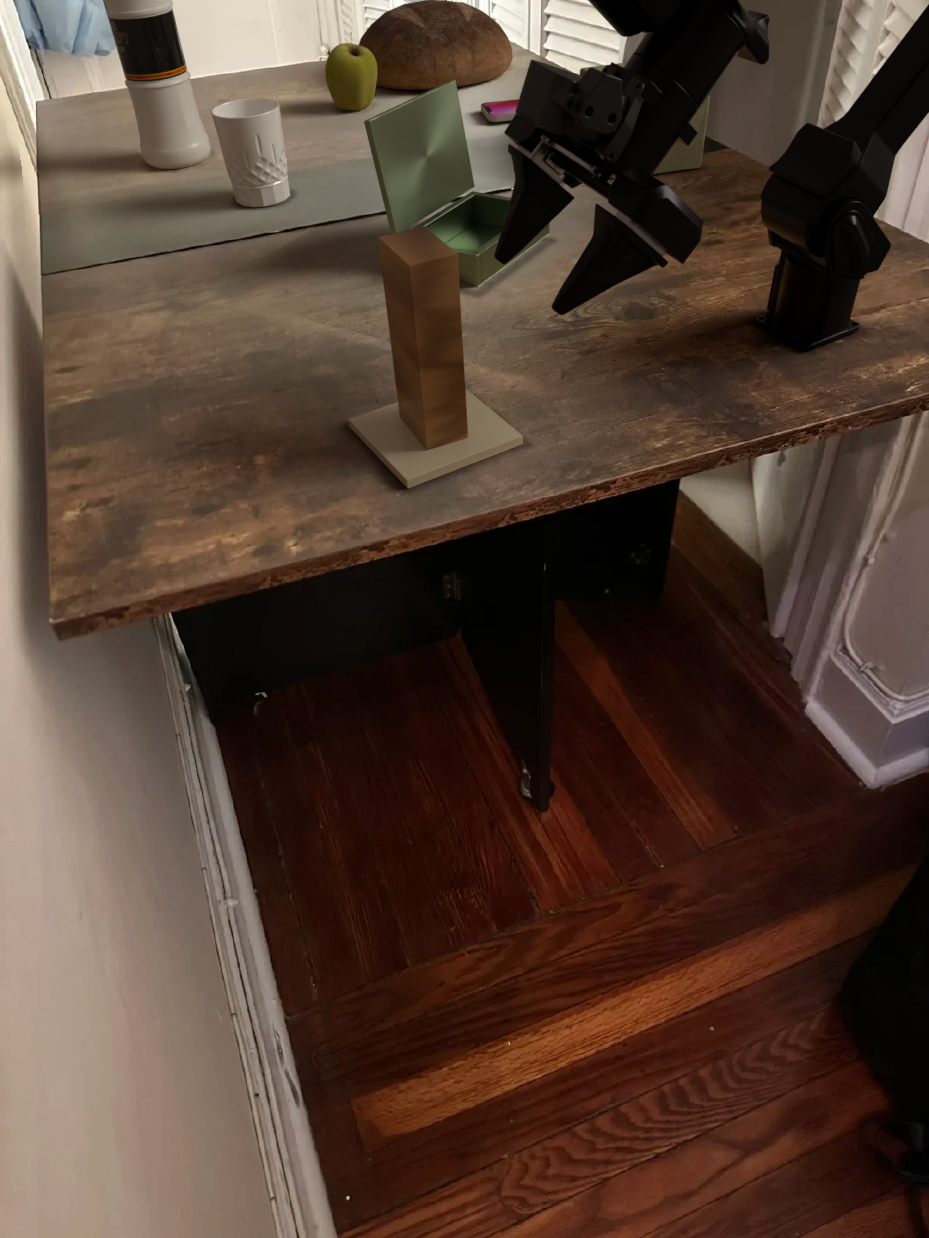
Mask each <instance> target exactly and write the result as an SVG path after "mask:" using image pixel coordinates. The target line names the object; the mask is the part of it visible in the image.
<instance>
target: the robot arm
mask: <svg viewBox="0 0 929 1238" xmlns="http://www.w3.org/2000/svg"><path fill="white" fill-rule="evenodd" d="M587 1H588V2H589V4H591V5H592V7H593V8H594V9H595V10H596V11H597V12H598V13H599V14H600V15H601V16H602V17H603V18H604V19H605V21H606V22H607V23H608V24H609V25H610V26H611V27H612V28H613V30H615V31H616V33H618V35H619V36H621V37H623V38H627V37H631V36H634V35H637V34H639V33H641V32H643V33H646V35H645V36H644V38H643V39H642V41H641V42H640V44H639V45H638V47H637V48H636V50H635V51H634V53H633V55H632V56H631V57H630V59H629V60H628V62H627V63H626V65H625V66H624V68H623V67H621V66H619V65H617V63H615V62H613V61H611V62H610V64H606V65H607V66H605V67H604V68H603V69H602V71H599V70H597V69H595V68H592V67H593V66H590V67H591V68H589V69H588V70H587V71H586V73H585V74H584V75H583V76H581V75H580V74H578V73H575V72H572V71H569V70H566V69H563V68H560V67H558V66H555V65H551V64H548V63H545V62H541V61H538V60H535V59H530V62H529V65H528V68H527V71H526V74H525V78H524V81H523V85H522V88H521V91H520V95H519V97H518V99H519V101H518V104H517V107H516V111H515V112H516V114H515V116H514V118H513V119H512V120H510V122H509V123H508V125H507V126H506V128H505V130H504V132H503V134H504V135H505V136H506V137H508V138H509V139H510V140H511V141H512V142H513V143H514V144H515V145H517V146H516V147H515V146H513V145H512V144H511V143H508V145H507V153H508V154H509V155H510V156H511V162H512V168H513V175H514V184H513V188H512V191H511V192H512V193H511V197H510V198H511V200H510V204H509V207H508V211H507V214H506V217H505V220H504V224H503V227H502V230H501V234H500V237H499V240H498V244H497V247H496V250H495V254H494V257H495V259H496V260H498V261H499V262H500V263H502V264H506V263H507V262H509V261H510V260H511V259H512V258H513V257H514V256H516V255H517V254H518V253H519V252H520V251H521V250H522V249H523V248H524V247H525V246H526V245H527V244H528V243H530V242H531V241H532V240H533V239H534V238H535V237H536V236H537V235H538V234H539V233H540V232H541V231H542V230H543V229H544V228H545V227H546V226H547V225H548V224H549V225H550V223H551V222H552V221H553V220H554V219H555V218H556V217H557V216H559V215H560V214H561V212H562V211H563V210H565V208H567V206H568V205H570V204H571V203H572V202H573V201H574V200H575V198H576V197H575V196H574V195H572V194H571V193H570V192H569V191H568V190H567V189H566V188H565V187H564V186H562V185H561V184H564V185H566V186H567V187H569V188H570V189H572V190H573V189H574V188H577V187H578V186H580V185H584V186H586V188H588V189H590V190H591V191H593V192H595V193H596V194H597V195H599V196H601V197H602V198H604V199H605V200H606V201H607V203H608V204H609V205H610V206H611V207H612V208H614V209H615V210H617V213H616V214H613V213H612V212H610V211H608V210H607V209H606V208H604V207H603V206H601V205H600V204H598V203H595V205H594V216H593V217H594V218H593V233H592V235H591V238H590V240H589V242H588V243H587V245H586V246H585V248H584V250H583V251H582V253H581V254H580V256H579V258H578V259H577V260H576V262H575V264H574V266H573V268H572V269H571V271H570V272H569V274H568V275H567V277H566V278H565V280H564V282H563V283H562V285H561V287H560V288H559V290H558V292H557V294H556V296H555V298H554V300H553V302H552V304H551V309H552V311H553V312H555V313H556V314H558V315H559V316H565V315H566V314H568V313H570V312H571V311H574V310H575V309H578V308H579V307H581V306H582V305H584V304H586V303H587V302H589V301H590V300H592V299H594V298H595V297H597V296H599V295H601V294H603V293H605V292H607V291H608V290H610V289H612V288H613V287H615V286H618V285H619V284H621V283H623V282H625V281H628V280H629V279H631V278H633V277H635V276H638V275H639V274H641V273H644V272H646V271H648V270H650V269H652V268H654V267H656V266H659V267H660V268H662V269H664V268H665V267H666V266H667V265H668V264H669V261H668V260H667V259H666V258H665V257H664V256H665V255H667V256H670V257H671V258H672V259H673V260H675V261H676V262H678V263H679V264H681V265H684V264H685V263H686V261H687V260H688V258H689V257H690V256H691V255H692V253H693V252H694V250H695V249H696V248H697V247H698V245H699V244H700V243H701V241H702V237H703V236H702V235H703V225H704V220H703V219H702V218H701V217H700V216H699V215H698V214H697V213H696V212H695V211H694V210H693V209H692V208H691V207H690V206H689V205H688V204H687V203H686V202H685V201H684V200H682V198H681V197H680V196H679V195H677V194H676V193H675V191H673V189H671V187H669V185H668V184H666V183H664V182H663V181H661V180H660V179H658V178H656V177H654V175H652V174H653V173H654V172H655V170H656V169H657V167H658V166H659V165H660V163H661V162H662V160H663V159H664V158H665V156H666V155H667V153H668V152H669V150H670V149H671V148H672V146H673V145H674V143H675V142H676V141H679V142H681V143H683V144H685V145H687V146H689V145H690V143H691V142H692V140H693V139H694V138H695V136H696V135H697V133H698V132H697V131H696V130H695V129H694V128H693V127H692V125H691V124H690V123H689V122H690V121H691V119H692V118H693V117H694V115H695V114H696V112H697V111H698V109H699V108H700V107H701V105H702V104H703V103H704V101H705V100H706V98H707V97H708V96H709V95H710V94H711V93H712V92H713V90H714V89H715V88H716V86H717V84H718V83H719V82H720V81H721V79H722V78H723V76H724V75H725V73H726V72H727V71H728V69H729V68H730V66H731V65H732V63H733V62H734V60H735V59H736V58H737V57H738V58H740V59H743V60H747V61H749V62H752V63H755V64H758V65H766V64H767V63H768V61H769V59H770V40H769V33H768V32H769V30H768V29H769V24H770V20H771V18H770V15H769V14H767V13H763V12H760V11H756V10H753V9H748V10H746V9H745V7H744V6H743V5H742V3H741V2H740V1H739V0H587ZM928 114H929V3H928V4H927V5H926V7H925V8H924V9H923V11H922V12H921V13H920V15H919V16H918V17H917V19H916V20H915V22H914V23H912V25H911V26H910V28H909V29H908V31H907V32H906V33H905V34H904V36H903V38H902V39H901V40H900V41H899V43H898V44H897V45H896V47H895V48H894V49H893V51H892V52H891V53H890V55H888V57H887V59H886V60H885V61H884V63H883V64H882V65H881V66H880V68H879V69H878V71H877V72H876V73H875V74H874V76H873V77H872V78H871V80H870V81H869V82H868V84H867V85H866V86H865V88H864V89H863V90H862V92H861V93H860V94H859V96H858V97H857V98H856V100H854V102H853V104H852V105H851V106H850V108H849V109H848V110H847V112H846V113H844V115H842V116H841V117H840V118H838V119H837V120H835V121H834V122H832V123H830V124H829V125H827V126H826V127H824V128H823V127H821V126H818V125H815V124H813V123H812V122H806V123H805V124H804V125H803V126H802V127H800V128H799V129H798V130H797V132H796V133H795V135H794V137H793V138H792V140H791V142H790V144H788V145H789V146H787V148H786V150H785V151H784V153H782V154H781V156H780V157H779V158H778V159H777V160H775V162H774V163H772V164H771V165H770V166H769V167H768V171H769V172H770V173H772V174H770V176H769V178H768V179H767V181H766V183H765V184H764V185H763V188H762V190H761V193H760V197H759V198H760V200H761V203H760V214H761V215H760V217H761V221H762V223H763V224H764V226H765V227H766V229H767V236H768V237H767V238H768V243H769V245H770V246H771V247H773V248H777V249H779V250H780V254H779V260H778V263H777V264H776V265H774V269H773V275H772V281H771V284H770V289H769V295H768V300H767V304H766V310H767V311H768V312H765V313H761V314H760V315H758V316H756V317H755V319H754V324H755V325H757V326H759V327H761V328H763V329H764V330H766V331H768V332H770V333H771V334H773V335H776V336H777V337H780V338H782V339H784V340H785V341H787V342H789V343H791V344H793V345H795V346H797V347H799V348H801V349H803V350H813V349H815V348H818V347H820V346H822V345H825V344H827V343H830V342H833V341H835V340H838V339H840V338H843V337H846V336H848V335H850V334H854V333H856V332H858V331H859V330H860V328H861V323H860V322H858V321H855V320H853V319H852V313H853V310H854V305H855V302H856V298H857V294H858V291H859V287H860V283H861V280H864V279H865V276H866V275H867V274H869V273H873V272H877V271H879V269H880V268H881V266H882V264H883V262H884V261H885V259H886V257H887V256H888V253H889V251H890V249H891V247H892V243H891V241H890V239H889V238H888V237H887V235H886V234H885V232H884V231H883V229H882V228H881V227H880V225H879V223H878V222H877V221H876V219H875V217H874V216H875V214H876V213H877V212H878V211H879V209H880V207H881V206H882V204H883V203H884V201H885V200H886V198H887V195H888V191H889V186H890V181H891V179H892V178H891V177H892V174H893V169H894V164H895V161H896V160H895V159H896V156H897V154H898V153H899V151H900V150H901V148H902V147H904V145H905V144H906V143H907V141H908V139H909V138H910V137H911V136H912V135H913V133H914V132H915V131H916V129H917V128H918V127H919V126H920V124H921V123H922V122H923V121H924V120H925V118H926V117H927V116H928ZM611 178H613V181H612V183H609V181H610V179H611Z"/></svg>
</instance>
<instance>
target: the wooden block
mask: <svg viewBox="0 0 929 1238" xmlns="http://www.w3.org/2000/svg"><path fill="white" fill-rule="evenodd" d="M377 242H378V250H379V258H380V266H381V275H382V281H383V282H382V283H383V292H384V298H385V306H386V307H385V308H386V314H387V315H386V316H387V324H388V332H389V340H390V341H389V342H390V348H391V349H390V350H391V356H392V364H393V372H394V374H393V375H394V382H395V389H396V397H397V398H396V399H397V402H398V407H399V415H400V417H401V419H402V420H403V421H404V422H405V423H406V425H407V426H408V427H409V428H410V430H411V431H412V432H413V433H414V435H415V436H416V437H417V438H418V440H419V441H420V442H421V443H422V445H423V446H424V447H425V448H426V450H429V449H433V448H436V447H439V446H442V445H446V444H449V443H452V442H455V441H459V440H462V439H465V438H468V422H467V406H466V389H467V388H466V374H465V358H464V357H465V356H464V355H465V354H464V341H463V340H464V339H463V324H462V323H463V321H462V310H461V309H462V307H461V290H460V289H461V287H460V283H459V272H458V255H457V253H456V252H455V251H454V250H453V249H451V248H450V247H449V246H448V245H447V244H445V243H444V242H443V241H442V240H441V239H439V238H438V237H437V236H436V235H434V234H433V233H432V232H431V231H430V230H428V229H427V228H426V227H425V226H423V227H419V228H415V229H412V228H411V229H406V230H404V231H402V232H397V233H393V234H391V233H389V234H386V235H381V236H378V237H377ZM465 388H466V389H465Z"/></svg>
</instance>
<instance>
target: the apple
mask: <svg viewBox="0 0 929 1238" xmlns="http://www.w3.org/2000/svg"><path fill="white" fill-rule="evenodd" d="M350 35H352V32H350ZM352 39H353V38H350V42H343V43H339V44H337V45H336V46H334V47H333V48H332V49H331V51H330V52H329V53H328V56H327V59H326V63H325V70H324V71H325V81H326V84H327V88H328V92H329V94H330V95H329V96H330V97H331V99H332V101H333V103H334V104H335V106H336V107H337V108H338V109H340V110H342V111H346V110H347V111H348V110H349V111H361V110H363V109H364V108H367V107H369V106H370V105H371V104H372V102H373V101H374V97H375V93H376V88H377V85H376V82H377V63H376V59H375V57H374V55H373V54H372V52H371V51H370V50H369V49H367V48H365V47H363V46H360V45H359V44H357V43H353V40H352Z"/></svg>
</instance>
